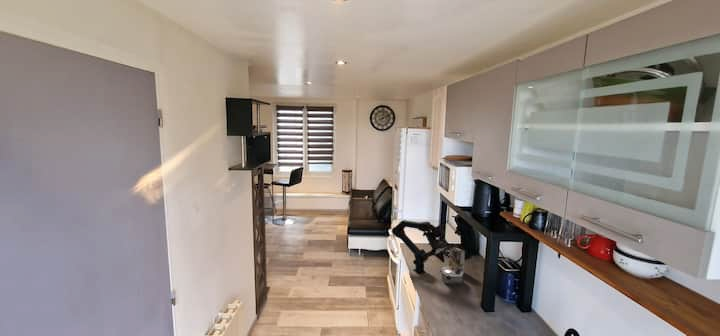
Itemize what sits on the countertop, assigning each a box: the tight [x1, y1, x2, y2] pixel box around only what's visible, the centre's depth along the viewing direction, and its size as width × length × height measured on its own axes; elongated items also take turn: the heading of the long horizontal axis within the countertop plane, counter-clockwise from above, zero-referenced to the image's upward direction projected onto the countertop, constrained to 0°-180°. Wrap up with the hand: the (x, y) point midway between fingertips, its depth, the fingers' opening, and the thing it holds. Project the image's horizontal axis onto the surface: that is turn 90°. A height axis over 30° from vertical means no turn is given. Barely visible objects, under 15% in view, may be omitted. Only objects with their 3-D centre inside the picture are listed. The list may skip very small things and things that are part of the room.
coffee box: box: [448, 246, 466, 274], centre depth 205 cm, size 9×6×16 cm
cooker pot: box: [439, 268, 464, 288], centre depth 193 cm, size 14×17×6 cm
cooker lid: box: [441, 265, 464, 277], centre depth 192 cm, size 14×14×2 cm
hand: (443, 262), depth 192 cm, fingers closed
